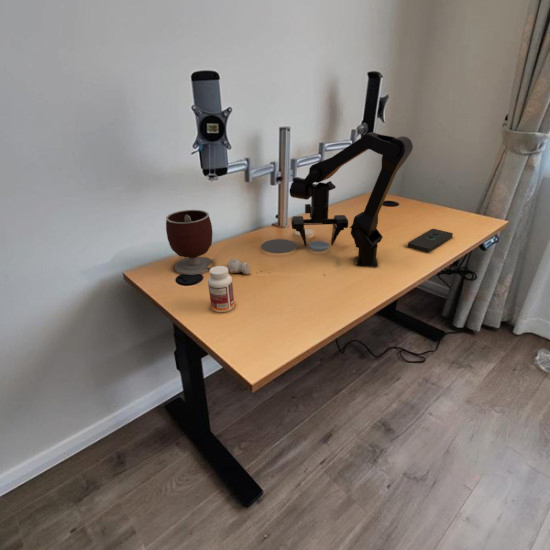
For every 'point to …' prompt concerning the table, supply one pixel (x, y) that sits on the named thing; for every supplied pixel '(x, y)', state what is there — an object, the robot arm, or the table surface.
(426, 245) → the smart home device
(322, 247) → the blue saucer
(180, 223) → the mate gourd
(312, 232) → the cream saucer
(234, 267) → the pale two-lobed sculpture
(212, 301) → the pill bottle
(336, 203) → the table surface
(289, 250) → the charcoal plate
